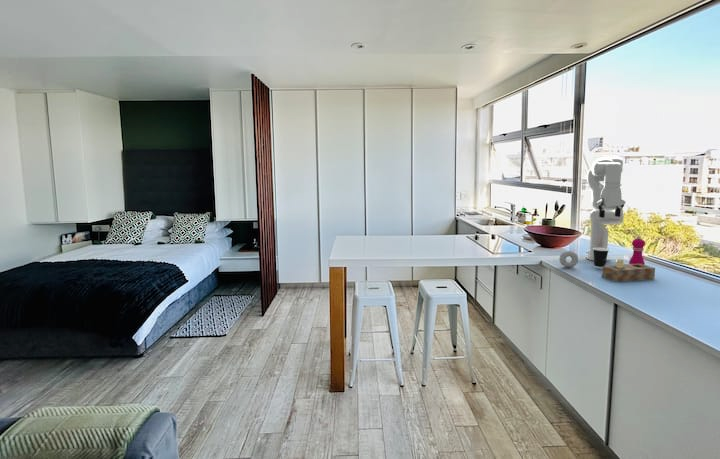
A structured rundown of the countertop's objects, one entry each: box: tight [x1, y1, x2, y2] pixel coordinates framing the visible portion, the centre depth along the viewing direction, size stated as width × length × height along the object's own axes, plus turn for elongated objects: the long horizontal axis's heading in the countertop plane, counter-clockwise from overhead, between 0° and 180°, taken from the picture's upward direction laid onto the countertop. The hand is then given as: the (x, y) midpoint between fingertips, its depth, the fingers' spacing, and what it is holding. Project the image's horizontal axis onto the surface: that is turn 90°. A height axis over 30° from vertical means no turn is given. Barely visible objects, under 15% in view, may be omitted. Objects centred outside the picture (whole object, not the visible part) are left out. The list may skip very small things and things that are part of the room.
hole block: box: [601, 263, 656, 283], centre depth 218 cm, size 22×10×6 cm, turn 99°
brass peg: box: [615, 258, 624, 269], centre depth 217 cm, size 3×3×10 cm
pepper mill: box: [628, 235, 646, 265], centre depth 229 cm, size 7×7×20 cm
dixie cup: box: [593, 247, 609, 270], centre depth 240 cm, size 8×8×11 cm
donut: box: [559, 250, 579, 268], centre depth 241 cm, size 10×3×10 cm, turn 76°
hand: (609, 217), depth 229 cm, fingers open, 9 cm apart
